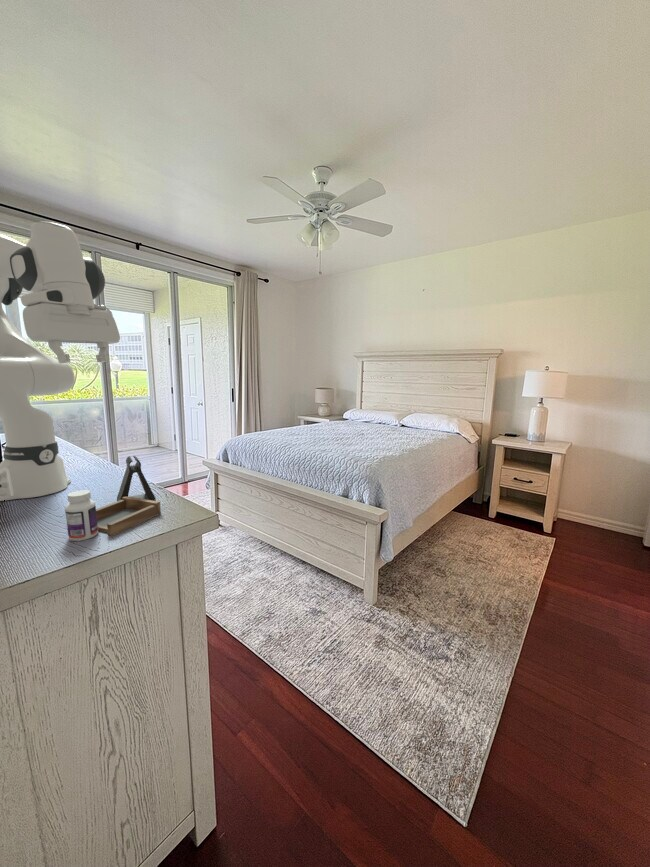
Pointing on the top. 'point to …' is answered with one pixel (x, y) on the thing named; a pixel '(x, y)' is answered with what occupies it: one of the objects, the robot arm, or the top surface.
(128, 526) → the tray
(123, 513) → the mat
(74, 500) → the pill bottle
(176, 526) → the top surface
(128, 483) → the phone stand
